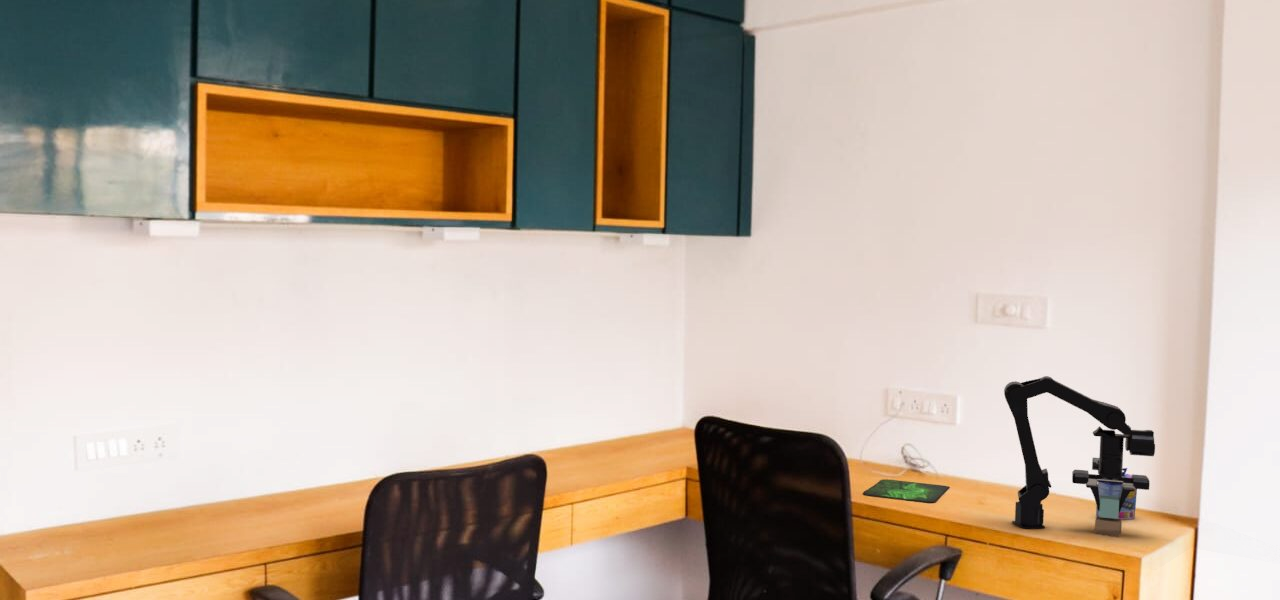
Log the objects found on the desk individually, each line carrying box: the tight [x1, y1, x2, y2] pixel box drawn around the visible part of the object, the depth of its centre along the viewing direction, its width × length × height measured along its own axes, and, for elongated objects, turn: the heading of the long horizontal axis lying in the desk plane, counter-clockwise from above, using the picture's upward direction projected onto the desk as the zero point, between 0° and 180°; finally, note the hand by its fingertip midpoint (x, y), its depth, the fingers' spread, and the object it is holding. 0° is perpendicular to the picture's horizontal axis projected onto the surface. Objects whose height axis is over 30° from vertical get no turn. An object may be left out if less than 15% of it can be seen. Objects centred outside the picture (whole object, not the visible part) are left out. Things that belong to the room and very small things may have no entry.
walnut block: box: [1094, 515, 1123, 538], centre depth 293 cm, size 6×6×4 cm
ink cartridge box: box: [1095, 467, 1138, 521], centre depth 309 cm, size 10×6×14 cm, turn 111°
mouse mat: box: [862, 478, 951, 504], centre depth 339 cm, size 27×22×1 cm
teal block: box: [1099, 495, 1119, 519], centre depth 292 cm, size 5×5×5 cm
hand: (1108, 511), depth 292 cm, fingers closed on teal block, 4 cm apart
